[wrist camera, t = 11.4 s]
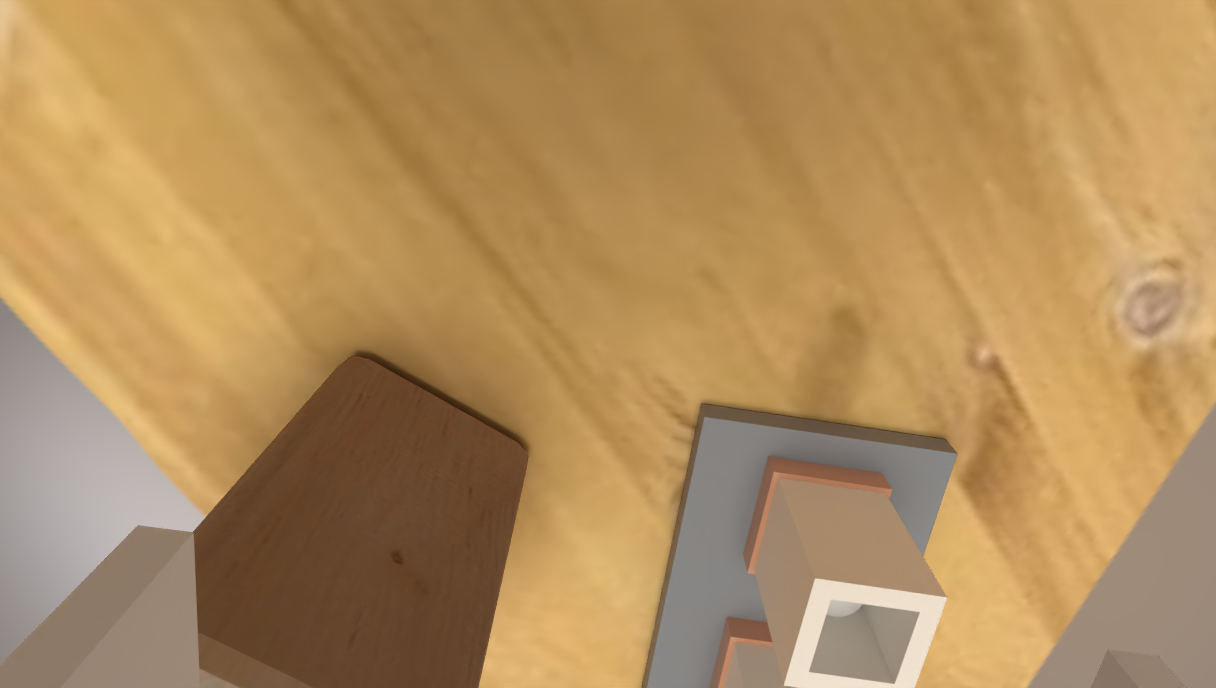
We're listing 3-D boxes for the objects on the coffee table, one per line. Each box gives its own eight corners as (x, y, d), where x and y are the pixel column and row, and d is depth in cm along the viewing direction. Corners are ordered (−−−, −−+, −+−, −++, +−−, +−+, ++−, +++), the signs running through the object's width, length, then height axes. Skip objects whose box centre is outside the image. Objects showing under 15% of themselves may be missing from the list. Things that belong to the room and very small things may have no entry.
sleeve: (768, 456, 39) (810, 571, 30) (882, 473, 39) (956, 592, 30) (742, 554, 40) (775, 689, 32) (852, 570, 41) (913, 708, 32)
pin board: (701, 403, 39) (719, 481, 32) (945, 439, 40) (1015, 523, 33) (639, 698, 45) (643, 818, 38) (851, 726, 46) (893, 849, 39)
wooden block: (538, 444, 40) (467, 796, 21) (441, 588, 43) (303, 1008, 24) (355, 341, 38) (102, 623, 20) (266, 498, 41) (-26, 874, 23)
